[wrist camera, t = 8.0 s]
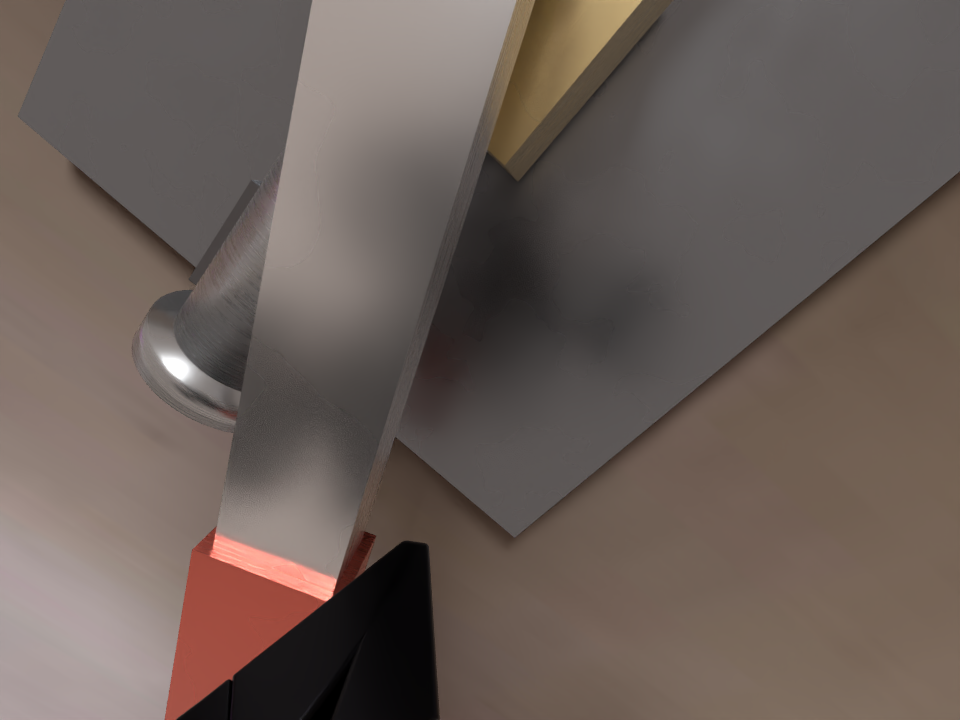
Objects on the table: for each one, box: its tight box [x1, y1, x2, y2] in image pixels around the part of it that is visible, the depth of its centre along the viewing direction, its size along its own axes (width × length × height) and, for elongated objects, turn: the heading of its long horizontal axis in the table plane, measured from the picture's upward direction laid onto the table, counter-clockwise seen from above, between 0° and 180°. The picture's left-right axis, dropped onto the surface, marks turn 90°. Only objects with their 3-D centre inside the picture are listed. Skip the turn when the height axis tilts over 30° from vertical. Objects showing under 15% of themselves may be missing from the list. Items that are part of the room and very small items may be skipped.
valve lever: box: [165, 0, 535, 720], centre depth 6 cm, size 16×3×2 cm, turn 161°
